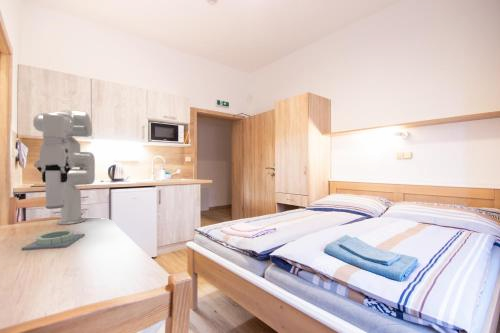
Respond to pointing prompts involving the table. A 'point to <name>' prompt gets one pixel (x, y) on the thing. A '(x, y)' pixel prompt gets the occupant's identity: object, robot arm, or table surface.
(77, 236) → the cup dock
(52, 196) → the travel mug
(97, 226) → the table surface
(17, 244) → the table surface
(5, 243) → the table surface
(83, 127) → the robot arm
